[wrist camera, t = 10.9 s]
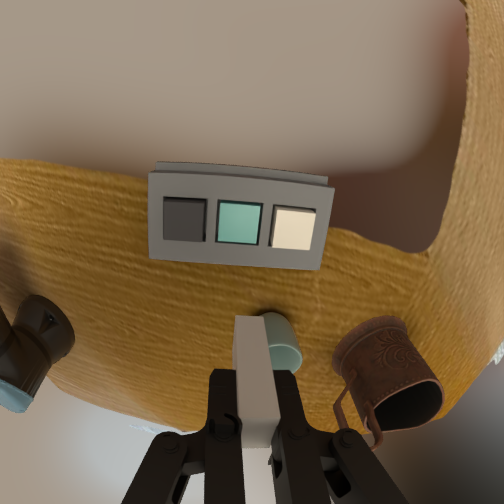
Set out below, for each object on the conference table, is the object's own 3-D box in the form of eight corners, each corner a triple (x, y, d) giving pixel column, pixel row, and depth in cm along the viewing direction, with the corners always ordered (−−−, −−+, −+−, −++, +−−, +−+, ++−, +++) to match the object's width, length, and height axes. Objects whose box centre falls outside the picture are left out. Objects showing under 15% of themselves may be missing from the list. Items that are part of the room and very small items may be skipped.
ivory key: (269, 239, 38) (272, 247, 35) (273, 204, 36) (277, 209, 33) (303, 242, 39) (309, 250, 36) (309, 208, 37) (315, 213, 34)
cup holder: (380, 379, 57) (419, 457, 34) (294, 374, 53) (320, 479, 30) (420, 320, 51) (481, 397, 28) (332, 304, 47) (392, 417, 24)
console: (157, 253, 41) (149, 265, 37) (158, 161, 35) (148, 164, 31) (309, 263, 43) (317, 276, 39) (325, 176, 38) (336, 180, 34)
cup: (237, 324, 47) (239, 364, 37) (271, 297, 45) (280, 335, 36) (267, 346, 49) (273, 386, 40) (299, 322, 47) (312, 361, 38)
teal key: (218, 233, 38) (217, 240, 35) (221, 198, 36) (220, 203, 34) (254, 236, 39) (256, 243, 36) (258, 201, 37) (260, 206, 34)
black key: (168, 232, 37) (163, 239, 34) (169, 196, 35) (163, 201, 32) (204, 234, 37) (201, 242, 34) (206, 198, 35) (203, 203, 32)
